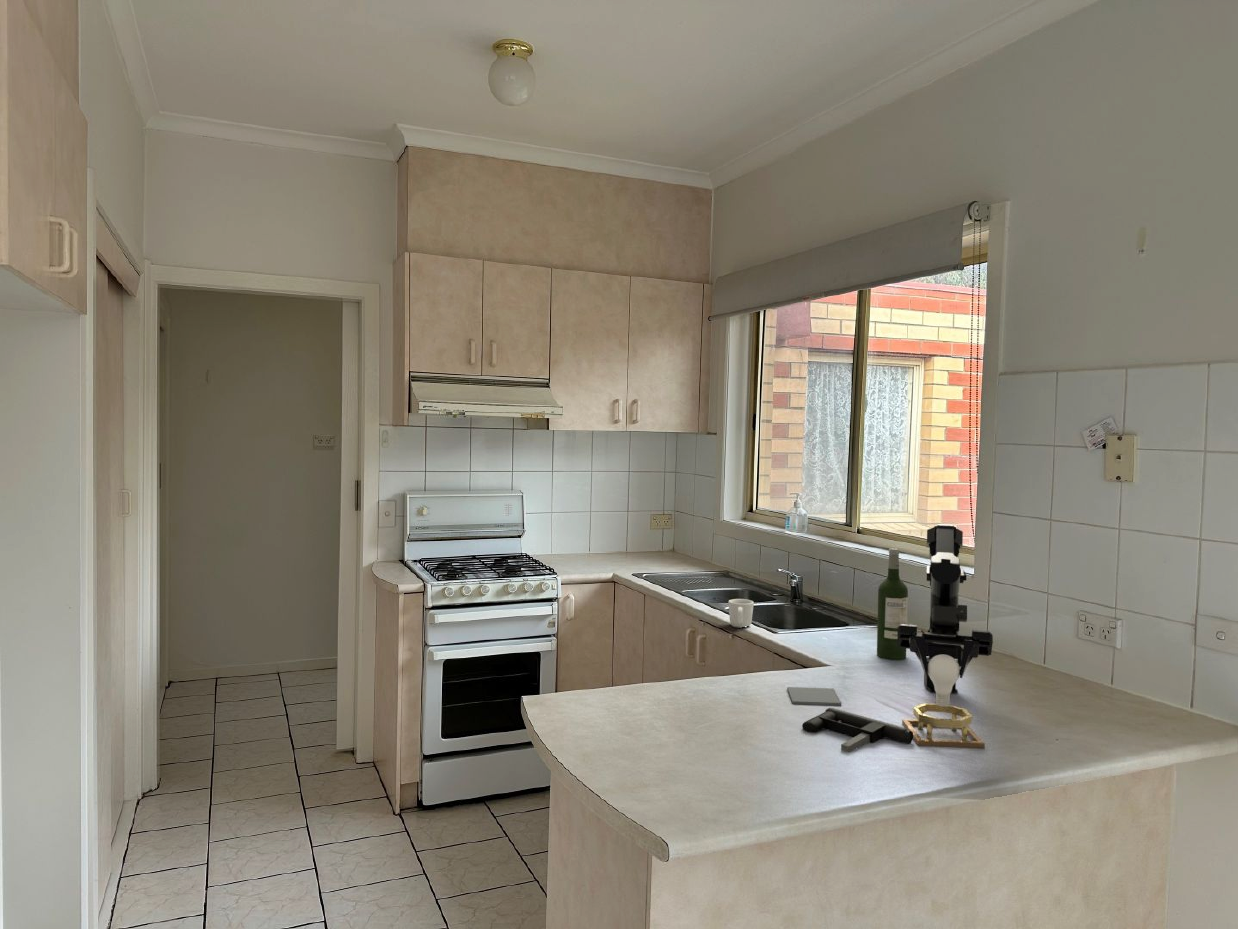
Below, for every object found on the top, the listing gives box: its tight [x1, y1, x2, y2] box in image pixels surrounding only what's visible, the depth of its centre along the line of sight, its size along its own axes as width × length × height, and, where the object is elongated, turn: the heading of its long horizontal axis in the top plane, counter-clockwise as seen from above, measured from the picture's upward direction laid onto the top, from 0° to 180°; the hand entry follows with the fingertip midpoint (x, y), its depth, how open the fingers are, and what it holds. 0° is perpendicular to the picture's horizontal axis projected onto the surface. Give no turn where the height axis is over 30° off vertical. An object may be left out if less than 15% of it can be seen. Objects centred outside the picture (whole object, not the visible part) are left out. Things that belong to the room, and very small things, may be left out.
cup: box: [728, 598, 755, 629], centre depth 277 cm, size 11×8×8 cm
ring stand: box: [901, 702, 986, 749], centre depth 182 cm, size 13×13×5 cm
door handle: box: [801, 707, 914, 753], centre depth 181 cm, size 3×20×16 cm
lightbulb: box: [927, 654, 960, 708], centre depth 182 cm, size 6×6×11 cm
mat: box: [787, 686, 842, 706], centre depth 207 cm, size 11×11×1 cm
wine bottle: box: [876, 548, 909, 661], centre depth 244 cm, size 8×8×30 cm
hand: (943, 675), depth 180 cm, fingers closed on lightbulb, 6 cm apart
